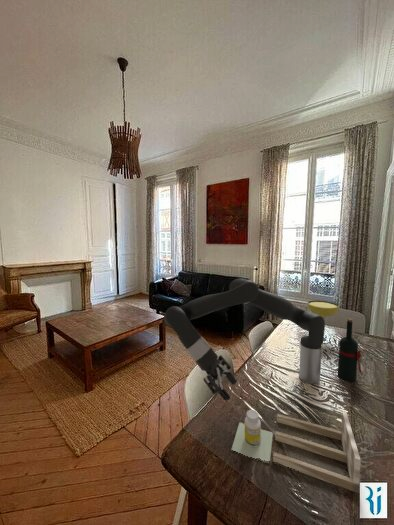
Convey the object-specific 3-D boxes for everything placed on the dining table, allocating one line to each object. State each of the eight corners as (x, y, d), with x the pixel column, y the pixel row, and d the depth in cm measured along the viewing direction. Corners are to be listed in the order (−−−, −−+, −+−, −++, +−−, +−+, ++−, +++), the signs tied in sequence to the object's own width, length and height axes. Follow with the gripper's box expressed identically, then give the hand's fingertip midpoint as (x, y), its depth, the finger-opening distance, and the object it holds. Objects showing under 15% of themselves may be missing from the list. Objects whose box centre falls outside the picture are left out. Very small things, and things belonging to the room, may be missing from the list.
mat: (239, 423, 84) (239, 422, 84) (272, 433, 80) (272, 432, 80) (231, 450, 73) (231, 449, 73) (269, 464, 69) (269, 463, 69)
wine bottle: (358, 387, 104) (362, 324, 101) (334, 376, 112) (337, 318, 109) (364, 380, 108) (368, 320, 105) (341, 371, 116) (343, 315, 114)
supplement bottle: (248, 431, 80) (249, 405, 79) (263, 439, 77) (263, 413, 76) (241, 441, 76) (241, 415, 75) (256, 450, 73) (256, 423, 72)
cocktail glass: (307, 332, 165) (308, 299, 162) (336, 337, 156) (338, 302, 153) (305, 342, 149) (306, 305, 147) (337, 348, 140) (338, 309, 138)
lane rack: (277, 419, 86) (277, 395, 85) (344, 438, 77) (346, 412, 76) (273, 462, 69) (273, 432, 68) (358, 493, 61) (360, 459, 60)
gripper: (201, 358, 73) (234, 401, 70) (215, 338, 86) (244, 374, 83) (186, 369, 76) (217, 410, 73) (202, 348, 89) (229, 382, 86)
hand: (231, 390), depth 78 cm, fingers open, 8 cm apart
